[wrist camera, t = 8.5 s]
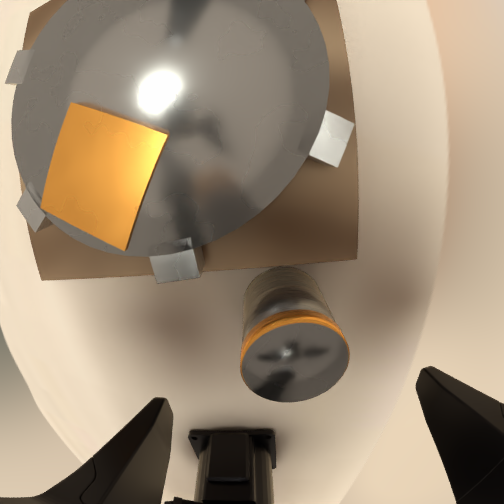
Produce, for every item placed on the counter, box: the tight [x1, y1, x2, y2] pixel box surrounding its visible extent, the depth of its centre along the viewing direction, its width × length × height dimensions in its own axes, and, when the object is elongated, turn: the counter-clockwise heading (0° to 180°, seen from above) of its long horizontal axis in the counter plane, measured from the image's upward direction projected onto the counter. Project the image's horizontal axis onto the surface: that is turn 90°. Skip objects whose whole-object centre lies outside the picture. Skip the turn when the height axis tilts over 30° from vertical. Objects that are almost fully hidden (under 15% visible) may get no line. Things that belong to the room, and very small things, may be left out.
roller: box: [240, 267, 350, 402], centre depth 12 cm, size 4×4×5 cm
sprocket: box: [5, 0, 354, 284], centre depth 7 cm, size 16×15×6 cm
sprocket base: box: [19, 0, 359, 281], centre depth 10 cm, size 17×17×1 cm
